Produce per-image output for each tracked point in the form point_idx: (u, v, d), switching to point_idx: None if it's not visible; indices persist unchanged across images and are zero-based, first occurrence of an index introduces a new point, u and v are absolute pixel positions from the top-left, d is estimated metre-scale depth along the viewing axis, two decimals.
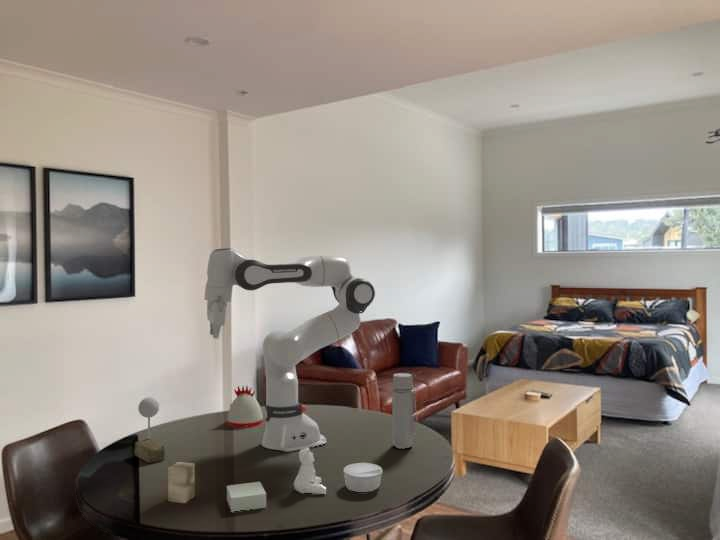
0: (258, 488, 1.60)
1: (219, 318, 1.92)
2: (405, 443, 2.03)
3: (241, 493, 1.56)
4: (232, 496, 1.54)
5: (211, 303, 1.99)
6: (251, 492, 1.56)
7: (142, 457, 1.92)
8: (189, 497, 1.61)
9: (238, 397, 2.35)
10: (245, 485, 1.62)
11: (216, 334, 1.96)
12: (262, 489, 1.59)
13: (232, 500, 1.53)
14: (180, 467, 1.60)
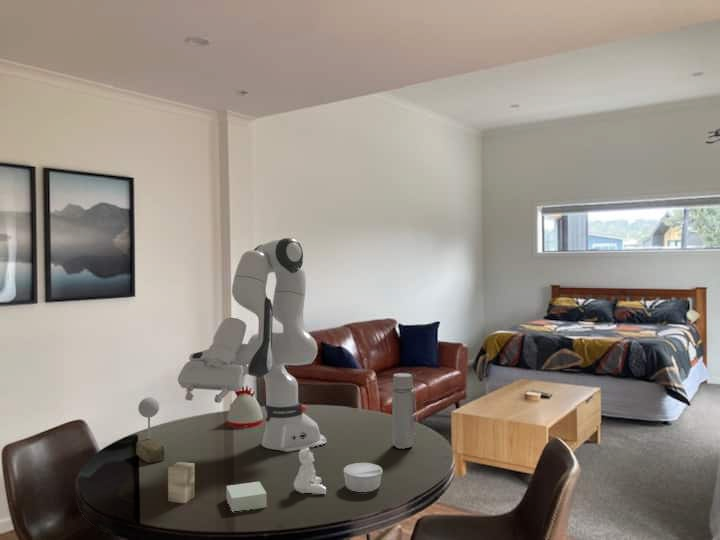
0: (258, 488, 1.60)
1: (241, 381, 1.76)
2: (405, 443, 2.03)
3: (241, 493, 1.56)
4: (233, 496, 1.54)
5: (220, 364, 1.79)
6: (251, 492, 1.56)
7: (142, 457, 1.92)
8: (189, 497, 1.61)
9: (238, 397, 2.35)
10: (245, 485, 1.61)
11: (221, 397, 1.73)
12: (262, 489, 1.59)
13: (233, 500, 1.53)
14: (180, 467, 1.60)
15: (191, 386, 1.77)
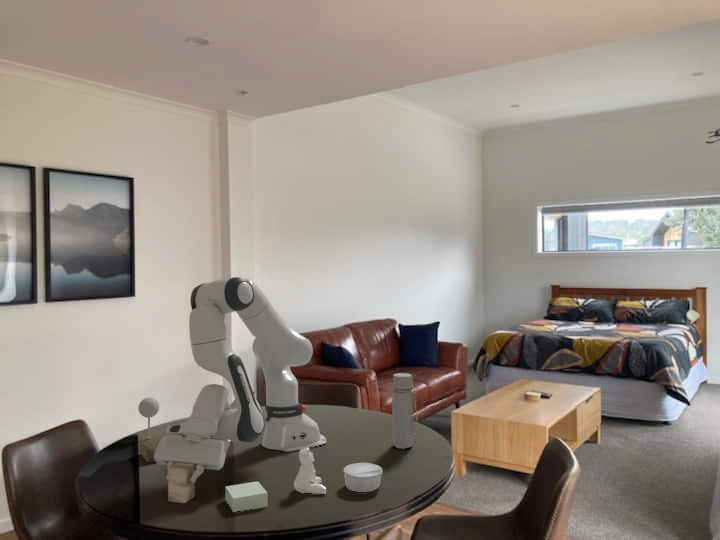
0: (257, 487, 1.60)
1: (222, 459, 1.63)
2: (405, 443, 2.03)
3: (242, 493, 1.56)
4: (234, 497, 1.54)
5: (199, 439, 1.67)
6: (252, 492, 1.57)
7: (143, 456, 1.93)
8: (189, 497, 1.61)
9: None
10: (244, 485, 1.61)
11: (195, 477, 1.61)
12: (262, 488, 1.59)
13: (234, 500, 1.53)
14: (180, 467, 1.60)
15: (173, 464, 1.65)
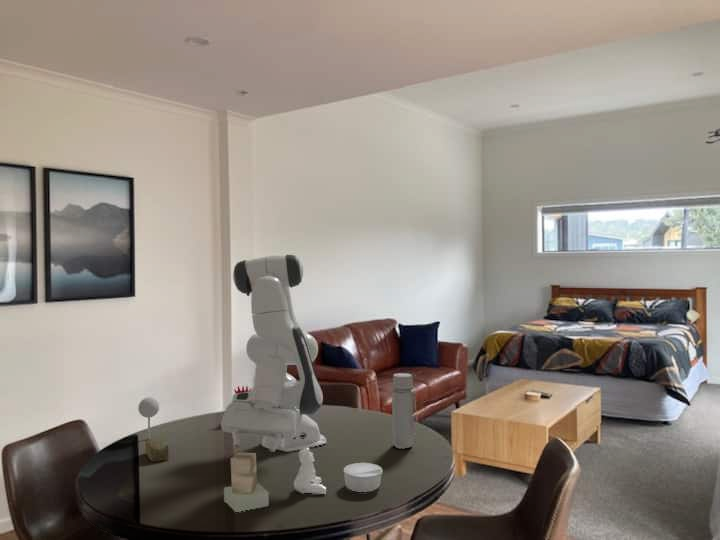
0: (257, 487, 1.60)
1: None
2: (405, 443, 2.03)
3: (243, 494, 1.56)
4: (236, 497, 1.53)
5: (270, 408, 1.64)
6: (253, 492, 1.57)
7: (148, 455, 1.94)
8: (253, 487, 1.58)
9: None
10: None
11: (275, 446, 1.58)
12: (262, 488, 1.60)
13: (236, 501, 1.53)
14: (243, 457, 1.57)
15: (238, 431, 1.60)
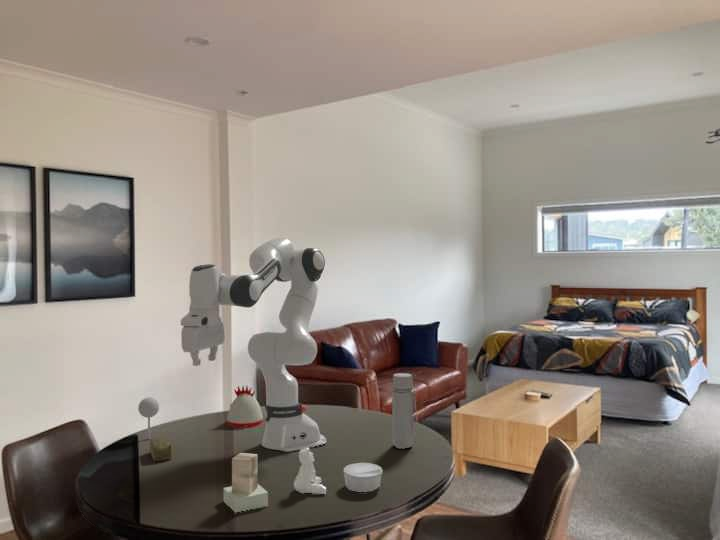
0: None
1: None
2: (405, 443, 2.03)
3: (243, 494, 1.56)
4: (235, 497, 1.53)
5: None
6: (252, 492, 1.57)
7: None
8: (253, 488, 1.58)
9: (238, 397, 2.35)
10: None
11: None
12: (262, 488, 1.59)
13: (236, 501, 1.53)
14: (244, 458, 1.57)
15: None
